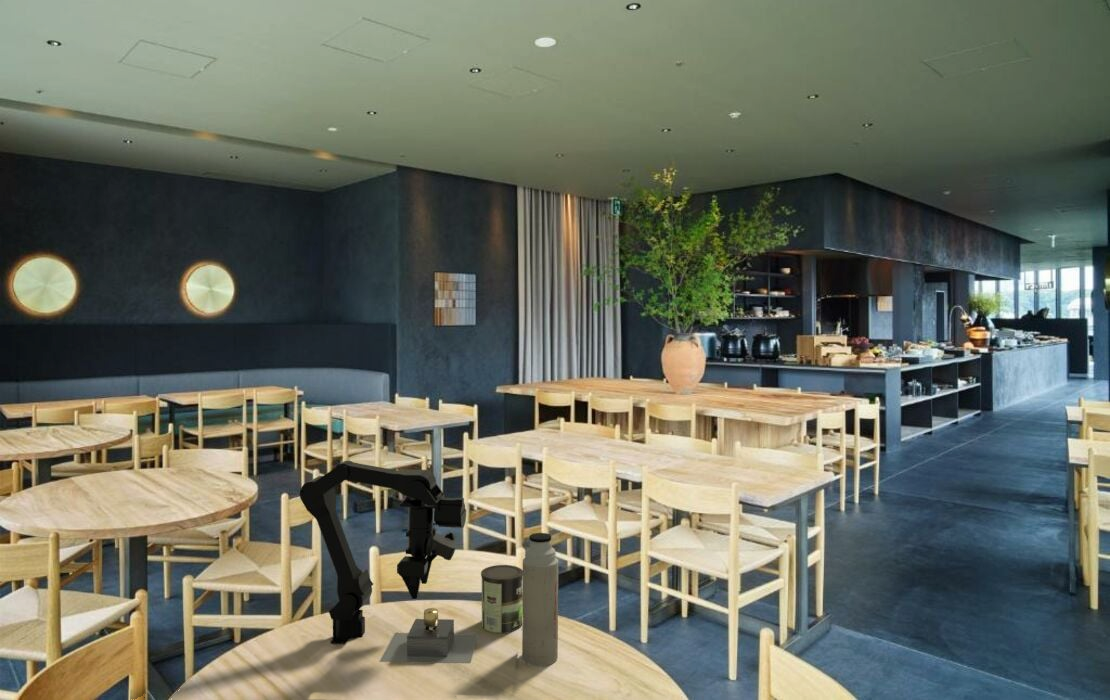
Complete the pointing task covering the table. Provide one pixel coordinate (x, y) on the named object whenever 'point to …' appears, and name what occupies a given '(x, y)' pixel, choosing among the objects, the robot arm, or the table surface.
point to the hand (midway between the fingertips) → (419, 590)
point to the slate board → (457, 654)
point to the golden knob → (431, 617)
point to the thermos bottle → (540, 602)
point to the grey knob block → (430, 639)
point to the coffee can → (502, 598)
